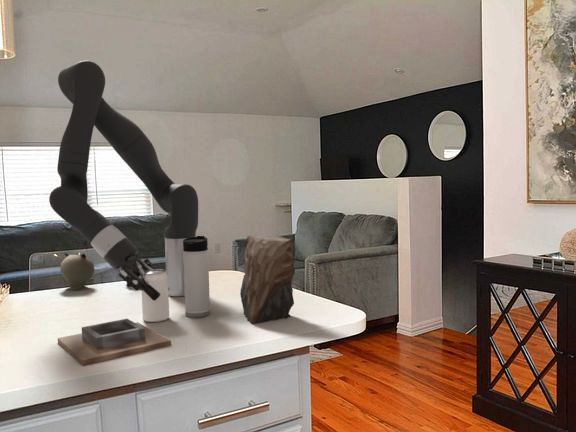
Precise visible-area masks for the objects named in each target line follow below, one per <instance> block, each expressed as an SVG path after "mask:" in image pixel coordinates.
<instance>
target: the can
mask: <svg viewBox="0 0 576 432" xmlns="http://www.w3.org/2000/svg"><path fill="white" fill-rule="evenodd" d="M144 274H145V279H146V280H147V281H148V282H149V284H150V285H151V286H152V287H153V288H154V289H155V290H157V291H158V292H159V293H160V296H159V297H158V298H157V299H156V300H155V301H154V300H152V299H151V298H150V297H149V296H148V295H147V294H146V293H145V292H144V290H143V291H141V306H142V309H141V310H142V312H141V313H142V320H143V321H144V322H146V323H160V322H165V321H166V320H168V319H169V317H170V298H169V297H170V295H169V291H168V276H167V274H166V269H158V268H156V269H155V270H147V271H146V273H144Z"/></svg>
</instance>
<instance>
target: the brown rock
mask: <svg viewBox="0 0 576 432" xmlns="http://www.w3.org/2000/svg"><path fill="white" fill-rule="evenodd" d="M246 240H247V243H246V248H245V252H244V255H243V260H242V261H243V270H244V271H243V272H244V274H243V278H242V283H241V287H240V294H239V295H240V300H241V305H242V309H243V315H244V317H245V318H246V321H247V322H249V324H250V325H255V324H260V323H267V322H272V321H271V320H273V321H277V320H284V319H283V318H285V319H288V317H289V318H291V317H290V311H291V309H292V307H293V306H294V304H295V301H294V294H293V291H294V290H293V286H292V283H293V279H294V275H295V274H296V270H295V266H294V264H295V261H294V259H295V258H294V254H293V242H294V239H293V238H292V237H290V238H287V237H284V236H282V235H281V236H280V235H277V236H276V235H275V236H271V237H270V236H258V235H250V234H249V235H247V237H246Z"/></svg>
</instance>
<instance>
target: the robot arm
mask: <svg viewBox="0 0 576 432" xmlns="http://www.w3.org/2000/svg"><path fill="white" fill-rule="evenodd" d="M57 77H58V78H57V83H58V87H59V89H60V91H61V92H62V94H63V96H65V98H66V99H68V101H69V102H70V103H71V104H72V110H71V114H70V117H69V120H68V123H67V125H66V127H65V129H64V132H63V135H62V138H61V141H60V146H59V150H58V152H59V153H58V160H57V169H56V170H57V174H58V176H59V177H60V186H57V187H55V188H54V189H53V190H52V191H51V192H50V194H49V198H48V199H49V205H50V207H51V209H52V210H53V211H54V212H55V213H56V214H57V215H58V216H59V217H60V218H61V219H62V220H64V221H65V222H66V223H67V224H69V226H71V227H73V228H74V229H75V230H76V231H77V232H78V233H79V234H80V236H82V237H83V238H84V239H85V241H86V242H88V243H89V244H90V245H91V247H92V248H93V249H94V250H95V252H96V253H97V254H98V255H99V256H101V258H102V259H103V260H104V261H105V262H106V263H107V264H108V265H109V266H110V267H111V268H112V269H113V270H115V271H116V272H117V271H120V270H121V271H120V272H119V274H118V276H119V277H120V278H121V279H122V280H123V281H124V282H126V284H127V283H128V284H129V285H130V286H129V287H131V288H133V290H135V291H139V290H140V291H141V292H142V291H143V290H144V292H145V293H146V294H147V295H148V296H149V297H150V298H151V299H152V300H154V301H155V300H156V299H157V298H158V297H159V296H160V293H159V292H158V291H157V290H155V289H154V288H153V287H152V286H151V285H150V284H149V282H148V281H147V280H146V279H145V274H144V273H146V271H147V270H155V269H157V268H156V266H155V265H154V264H153V263H152V261H150V259H149V258H145V259H144V260H143V259H141V258H140V257H138V254H139V248H138V247H137V246H136V245H134V243H133V242H132V241H131V240H130V239H128V237H126V235H125V234H123V232H122V231H120V229H119V228H117V227H116V226H114V225H113V224H112V223H111V222H110V221H109V220H108V219H107V218H106V216H104V215H103V214H102V213H100V212H99V211H97V210H95V209H94V208H93V207H92V206H91V205H90V204H89V203H88V198H89V197H88V196H89V195H88V191H89V190H88V179H87V177H88V176H87V173H88V166H89V158H90V150H91V143H92V138H93V137H92V136H93V132H94V128H96V129H97V131H98V133H100V134H101V135H102V137H103V138H104V139H105V140H106V141H107V142H108V143H109V145H110V146H111V148H113V150H114V151H115V152H116V153H117V155H118V156H119V157H120V158H121V160H122V161H123V162H124V163H125V164H127V166H128V167H129V168H130V169H131V171H132V172H133V173H134V174H135V175H136V176H137V178H138V179H139V180H140V181H141V182H142V183H143V184H144V186H145V187H146V188H147V189H148V191H149V193H150V194H151V196H152V197H153V198H154V200H155V201H156V203H157V205H158V207H160V209H162V210H163V211H164V212H165V213H167V214H169V215H170V216H171V217H170V219H171V220H170V224H169V225H168V226H167V227H165V229H164V248H165V249H164V251H165V255H164V256H165V270H166V274H167V276H168V291H169V297H171V296H172V297H185V289H184V262H183V248H184V247H183V240H184V239H187V238H192V237H197V233H196V232H197V230H198V226H199V199H198V198H199V197H198V193H197V190H196V189H195V188H194V187H193V186H192V185H190V184H187V183H175V182H174V181H173V180H172V179H171V178H170V177H169V176H168V174H166V172H165V171H164V169H162V166H161V165H160V160H159V159H158V155H157V152H156V148H155V147H154V145H153V143H152V142H151V140H150V139H149V137H148V136H147V135H146V134H145V132H143V130H142V129H141V128H140V127H139V126H138V125H137V124H136V123H135V122H133V120H131V119H129V118H128V117H127V116H125V115H123V114H122V113H121V112H119V111H117V110H115V109H114V108H113V106H111V105H110V104H109V103H108V102H107V101H106V100H105V98H103V93H104V90H105V87H106V76H105V73H104V71H103V69H102V67H100V65H98V64H97V63H96V62H94V61H92V60H81V61H78V62H75V63H73V64H71V65H69V66H66V67H65V68H63V69H62V70H60V72H59V74H58V76H57ZM135 284H137V285H135Z"/></svg>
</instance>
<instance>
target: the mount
mask: <svg viewBox="0 0 576 432" xmlns="http://www.w3.org/2000/svg"><path fill="white" fill-rule="evenodd" d="M57 343H58V344H59V346H61V347H62V348H63V349H64V350H65V351H66V352H67V353H69V354H70V356H72V357H73V358H74V359H75V360H76V361H77V362H78V363H80V365H82V366H87V365H91V364H95V363H96V364H97V363H99V362H105V361H108V360H109V361H110V360H113V359H116V358H122V357H125V356H126V357H127V356H128V355H129V356H130V355H133V354H139V353H142V352H147V351H152V350H154V349H160V348H163V347H168V346H169V347H170V346H172V340H171V339H169V338H167V337H165V336H164V335H162V334H160V333H158V332H156V331H154V330H153V329H151V328H149V327H148V326H145V325H144V324H142V323H139V322H134V321H132V320H130V319H129V318H122V319H118V320H113V321H108V322H101V323H96V324H92V325H86V326H82V327H81V333H77V334H73V335H66V336H61V337H57Z"/></svg>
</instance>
